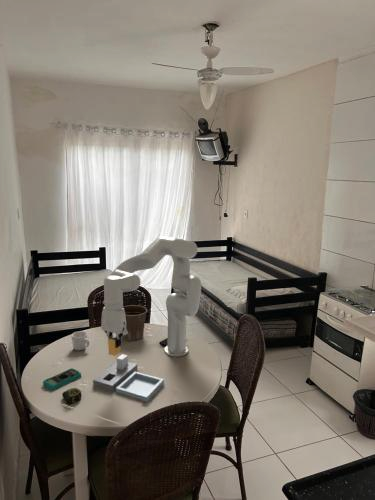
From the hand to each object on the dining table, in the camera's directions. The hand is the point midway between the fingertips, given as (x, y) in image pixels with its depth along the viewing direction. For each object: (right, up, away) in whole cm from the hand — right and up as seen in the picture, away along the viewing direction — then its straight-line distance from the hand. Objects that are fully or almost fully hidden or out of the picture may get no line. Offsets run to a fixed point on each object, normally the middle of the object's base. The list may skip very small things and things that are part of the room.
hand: (114, 345), depth 158 cm
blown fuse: (0, -3, +1) cm, 4 cm away
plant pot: (0, -9, +52) cm, 53 cm away
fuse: (+1, -16, +13) cm, 21 cm away
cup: (-25, -12, +36) cm, 45 cm away
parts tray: (+11, -19, +1) cm, 22 cm away
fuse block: (-1, -18, +9) cm, 20 cm away
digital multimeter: (-24, -18, +6) cm, 31 cm away
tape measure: (-16, -21, -8) cm, 28 cm away
